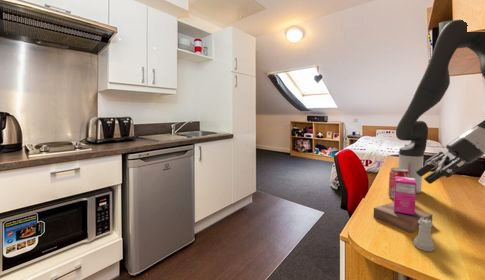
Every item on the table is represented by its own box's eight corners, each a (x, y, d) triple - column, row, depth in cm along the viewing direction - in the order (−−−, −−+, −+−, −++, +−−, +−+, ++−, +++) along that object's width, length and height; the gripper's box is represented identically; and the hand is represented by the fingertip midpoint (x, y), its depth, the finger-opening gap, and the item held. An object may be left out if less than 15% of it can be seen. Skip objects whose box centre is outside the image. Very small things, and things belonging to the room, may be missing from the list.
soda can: (405, 202, 91) (407, 172, 90) (385, 198, 97) (387, 169, 95) (410, 198, 96) (412, 169, 95) (390, 194, 101) (392, 166, 100)
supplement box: (393, 206, 80) (395, 175, 78) (413, 210, 76) (416, 178, 75) (392, 212, 75) (395, 179, 73) (415, 217, 72) (417, 182, 70)
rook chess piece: (428, 254, 58) (430, 225, 57) (409, 245, 62) (411, 218, 61) (437, 249, 60) (440, 221, 59) (419, 241, 64) (421, 214, 63)
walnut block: (394, 211, 84) (394, 201, 84) (431, 226, 74) (432, 214, 73) (373, 218, 79) (373, 207, 79) (409, 234, 69) (410, 222, 68)
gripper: (450, 133, 74) (406, 164, 80) (473, 138, 61) (419, 174, 67) (470, 150, 73) (423, 180, 78) (498, 158, 60) (440, 193, 66)
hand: (422, 177), depth 73 cm, fingers open, 8 cm apart
